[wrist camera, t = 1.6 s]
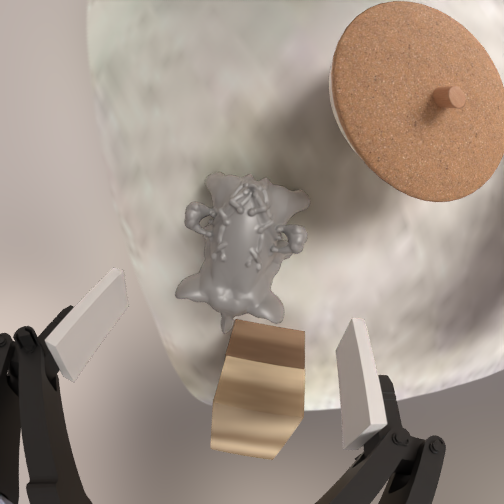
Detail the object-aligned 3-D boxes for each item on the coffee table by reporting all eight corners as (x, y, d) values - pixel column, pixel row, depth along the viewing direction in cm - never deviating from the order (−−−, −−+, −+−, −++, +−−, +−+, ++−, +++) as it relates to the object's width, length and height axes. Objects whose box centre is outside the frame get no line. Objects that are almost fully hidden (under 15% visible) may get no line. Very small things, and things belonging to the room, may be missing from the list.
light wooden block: (226, 355, 23) (213, 402, 18) (305, 369, 22) (303, 417, 18) (219, 414, 28) (210, 448, 24) (277, 424, 28) (272, 459, 24)
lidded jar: (390, 199, 19) (444, 257, 11) (286, 100, 17) (280, 83, 9) (468, 114, 14) (547, 129, 6) (376, 12, 12) (423, -40, 4)
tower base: (236, 317, 27) (225, 354, 23) (304, 329, 26) (304, 368, 22) (228, 382, 33) (219, 413, 28) (280, 391, 32) (277, 423, 28)
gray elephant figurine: (306, 160, 19) (309, 175, 12) (314, 299, 24) (316, 362, 17) (188, 175, 21) (138, 198, 14) (216, 301, 26) (188, 358, 19)
